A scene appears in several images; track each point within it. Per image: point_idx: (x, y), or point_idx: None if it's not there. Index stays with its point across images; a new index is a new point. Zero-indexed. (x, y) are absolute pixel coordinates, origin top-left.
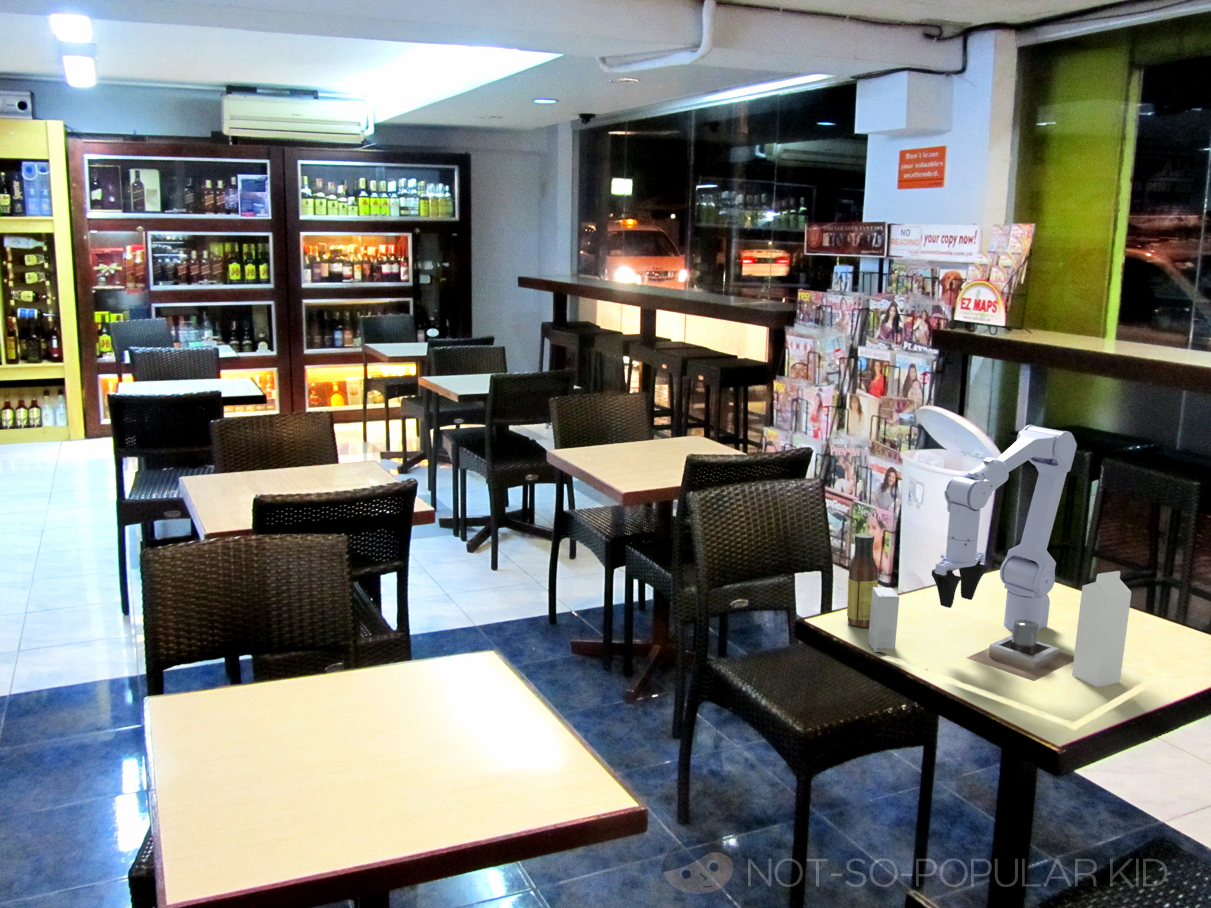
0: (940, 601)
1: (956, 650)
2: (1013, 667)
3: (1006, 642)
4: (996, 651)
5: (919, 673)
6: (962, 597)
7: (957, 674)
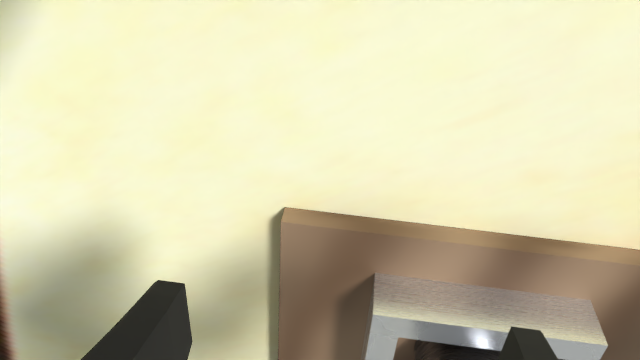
0: (135, 306)
1: (392, 125)
2: (332, 352)
3: (470, 342)
4: (369, 320)
5: (7, 124)
6: (507, 335)
7: (146, 225)
